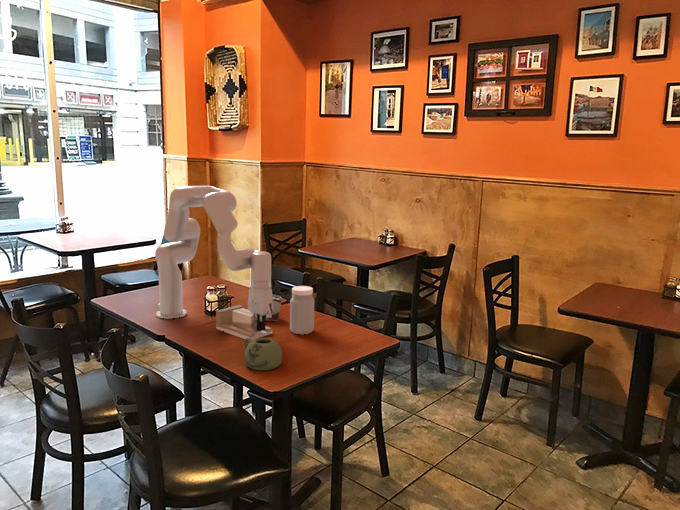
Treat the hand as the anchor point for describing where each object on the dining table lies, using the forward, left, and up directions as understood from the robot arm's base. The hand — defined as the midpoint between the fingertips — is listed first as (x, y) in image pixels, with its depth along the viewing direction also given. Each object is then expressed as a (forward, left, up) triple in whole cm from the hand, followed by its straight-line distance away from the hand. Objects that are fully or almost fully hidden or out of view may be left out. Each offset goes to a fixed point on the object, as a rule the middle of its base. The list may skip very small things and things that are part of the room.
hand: (260, 329), depth 209 cm
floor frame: (-10, 0, -3) cm, 10 cm away
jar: (+7, +16, -3) cm, 18 cm away
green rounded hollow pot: (+20, -18, -3) cm, 27 cm away
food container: (-15, +19, -3) cm, 25 cm away
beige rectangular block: (-8, 0, -2) cm, 9 cm away
